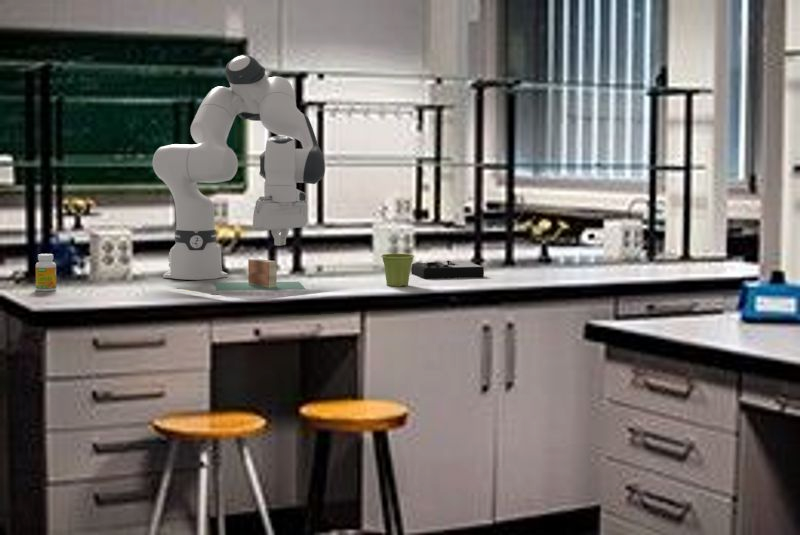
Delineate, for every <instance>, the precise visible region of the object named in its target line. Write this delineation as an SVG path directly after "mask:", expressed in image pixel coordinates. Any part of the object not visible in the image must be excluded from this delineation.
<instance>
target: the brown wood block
mask: <svg viewBox="0 0 800 535" xmlns="http://www.w3.org/2000/svg"><path fill="white" fill-rule="evenodd" d="M277 262H278V261H276V260H271V259H270V260H269V259H261V258H249V259H248V265H247V266H248V267H247V268H248V270H247V271H248V273H247V275H248V279H247V280H248V284H250V285H256V286H263V287H269V288H270V287H277V282H278V280H277V278H278V277H277V275H278V274H277V272H278V271H277V270H278V269H277V268H278V267H277Z"/></svg>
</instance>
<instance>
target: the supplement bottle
mask: <svg viewBox="0 0 800 535" xmlns="http://www.w3.org/2000/svg"><path fill="white" fill-rule="evenodd" d="M37 260H38V262H36V264H35V290H36V291H37V292H53V291H56V290H57V264H56V262H54V261H53V260H54V254H53V253H40V254H37Z"/></svg>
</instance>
